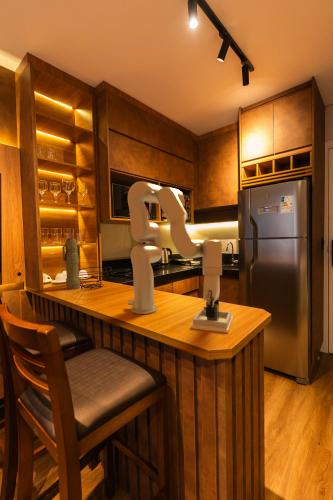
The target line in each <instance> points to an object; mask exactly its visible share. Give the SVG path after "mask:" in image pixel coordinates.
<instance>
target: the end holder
mask: <svg viewBox="0 0 333 500" xmlns="http://www.w3.org/2000/svg"><path fill="white" fill-rule="evenodd" d="M233 319H234V315H232V311H225V310H224V311H223V310H219V320H218V321H212V320H207V317H206V310H204V308H202V309H200V310H199V311H198V312H197V313H196V315H194V317H193V318H192V323H191V324H190V329H195V330H204V331H210V332H218V333H229V331H230V329H231V325H232V323H233Z"/></svg>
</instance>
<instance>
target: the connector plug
mask: <svg viewBox="0 0 333 500" xmlns="http://www.w3.org/2000/svg"><path fill="white" fill-rule="evenodd" d="M203 309H204V310H206V306H203ZM214 309H215V317H214V318H211V317H207V320H212V321H218V320H219V311H220V310H219V309H220V304H219V305H216V304H214Z"/></svg>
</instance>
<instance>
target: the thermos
mask: <svg viewBox="0 0 333 500" xmlns="http://www.w3.org/2000/svg"><path fill="white" fill-rule="evenodd" d="M80 247H81V246H80V245H79V244H78V243H77V240H76V238H75V237H74V238H73V237H69V238H68V237H67V238H66V239H65V242H64V245H62V247H61V248H62V251H61V252H62V260H63V261H64V264H65V271H66V278H65V285H66V290H77V289H80V287H81V281H80V279H81V278H80V276H79V263H80V262H79V261H80V259H81V249H80Z"/></svg>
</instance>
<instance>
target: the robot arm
mask: <svg viewBox="0 0 333 500" xmlns="http://www.w3.org/2000/svg"><path fill="white" fill-rule="evenodd" d="M184 201H185V197H184V194H183V192H182V191H180V190H179V189H177V188H173V187H170V186H161V185H158V184H154V183H151V182H147V181H142V180H141V181H136V182H134V183H133V184H132V185H131V187H129V190H128V193H127V203H128V209H129V218H130V220H129V221H130V228H131V229H130V230H131V231H130V232H131V236H132V239H133V240H134V241H136V242H145V243H142V244H137V245H135V246H133V247H132V249H131V251H130V260H131V261H130V262H131V264H132V272H133V273H132V277H133V300H132V299H129V300H127V305H128V306H131V308H130V311H131V312H132V313H133V314H137V315H148V314H153V313H155V312H157V311H158V310H159V309H158V306H157V305H155V285H154V284H155V283H154V281H155V280H154V270H153V268H152V265H151V264H154V263H157V262H159V261H161V259H162V256H163V242H162V241H163V240H162V232H161V228H160V227H159V225H158V224H157V223H156V222H154V221H150V220H149V212H148V211H149V210H148V208H147V206H146V204H145V202H149V203H154V204H158V205H159V207H160V208H161V209H162V211H163V214H164V216H165V218H166V219H167V221H168V223H169V233H170V238H171V239H170V240H171V241H172V243H173V245H174V247H175V249H176V251H177V253H178V254H179V256H180V257H182V258H183V259H185V260H191V259H197V258H201V257H202V275H203V279H204V280H203V296H202V297H203V301H205V307H206V317H211V318H214V317H215V309H214V304H216V305H219V306H220V300H219V299H220V291H221V290H220V288H221V287H220V285H221V284H220V276H223V251H222V250H223V249H222V248H223V247H222V246H223V245H222V241H221V240H220V239H199V238H198V239H196V238H195V239H192V238H191V237H190V234H189V233H188V231H187V229H186V221H187V219H188V217H189V216H188V212H187V211H186V209H185V207H184V206H183V204H184Z"/></svg>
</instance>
